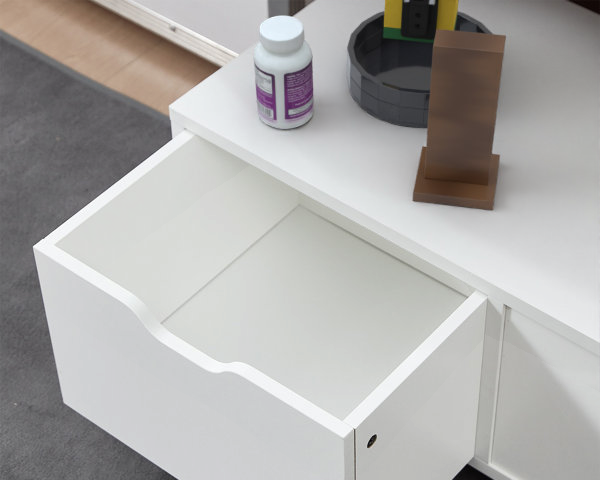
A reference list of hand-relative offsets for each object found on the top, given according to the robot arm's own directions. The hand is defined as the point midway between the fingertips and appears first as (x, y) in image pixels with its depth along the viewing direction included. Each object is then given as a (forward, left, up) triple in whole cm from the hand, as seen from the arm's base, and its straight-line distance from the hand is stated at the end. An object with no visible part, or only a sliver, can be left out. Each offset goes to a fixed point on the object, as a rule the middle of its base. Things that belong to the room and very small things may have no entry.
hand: (421, 19), depth 114 cm
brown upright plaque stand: (-5, +14, -7) cm, 17 cm away
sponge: (0, 0, -1) cm, 1 cm away
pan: (0, 0, -7) cm, 7 cm away
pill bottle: (+12, +7, -7) cm, 15 cm away
